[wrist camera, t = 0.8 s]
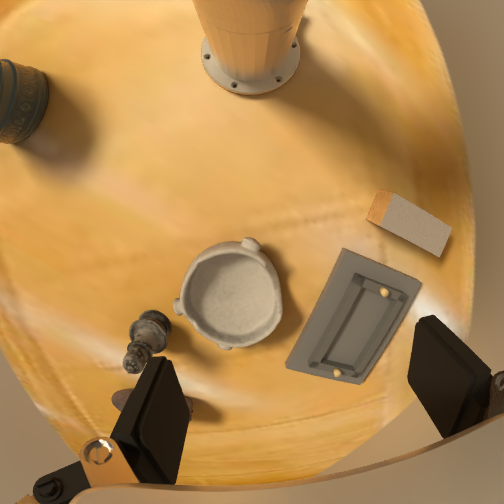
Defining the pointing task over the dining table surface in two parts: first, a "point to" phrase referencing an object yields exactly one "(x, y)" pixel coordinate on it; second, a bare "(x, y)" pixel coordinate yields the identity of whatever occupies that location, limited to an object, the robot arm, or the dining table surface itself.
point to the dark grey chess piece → (146, 339)
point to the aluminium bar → (409, 222)
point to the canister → (20, 100)
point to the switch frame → (352, 319)
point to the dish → (231, 294)
